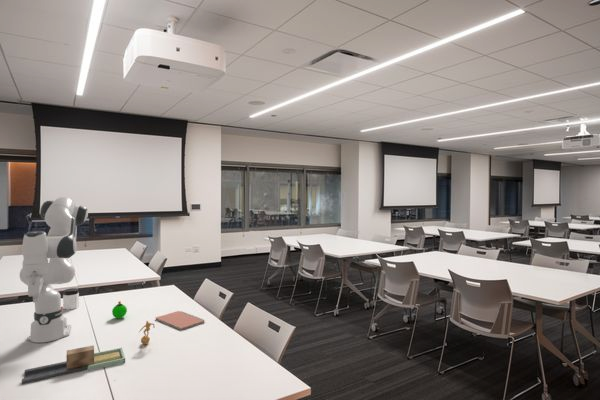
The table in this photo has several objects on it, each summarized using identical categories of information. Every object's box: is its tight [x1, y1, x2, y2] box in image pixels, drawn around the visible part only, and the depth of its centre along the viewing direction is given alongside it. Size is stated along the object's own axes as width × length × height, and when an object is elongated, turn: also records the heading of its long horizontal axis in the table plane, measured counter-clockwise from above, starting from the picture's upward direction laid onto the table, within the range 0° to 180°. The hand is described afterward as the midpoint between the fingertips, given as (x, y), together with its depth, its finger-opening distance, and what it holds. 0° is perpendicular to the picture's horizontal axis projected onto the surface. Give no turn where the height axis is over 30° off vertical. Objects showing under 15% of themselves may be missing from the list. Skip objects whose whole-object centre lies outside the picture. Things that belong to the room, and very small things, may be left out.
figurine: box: [138, 320, 155, 345], centre depth 180 cm, size 8×6×12 cm
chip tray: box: [87, 347, 126, 371], centre depth 160 cm, size 14×13×3 cm
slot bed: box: [21, 360, 88, 385], centre depth 150 cm, size 22×11×2 cm, turn 122°
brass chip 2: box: [107, 352, 121, 361], centre depth 162 cm, size 5×5×2 cm
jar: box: [62, 287, 80, 311], centre depth 237 cm, size 9×8×12 cm
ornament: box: [111, 300, 128, 319], centre depth 218 cm, size 8×8×10 cm
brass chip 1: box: [94, 354, 107, 364], centre depth 159 cm, size 5×5×2 cm
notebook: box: [155, 310, 206, 331], centre depth 213 cm, size 27×17×2 cm, turn 51°
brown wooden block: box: [65, 345, 95, 369], centre depth 155 cm, size 10×5×7 cm, turn 122°
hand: (36, 301), depth 154 cm, fingers closed
